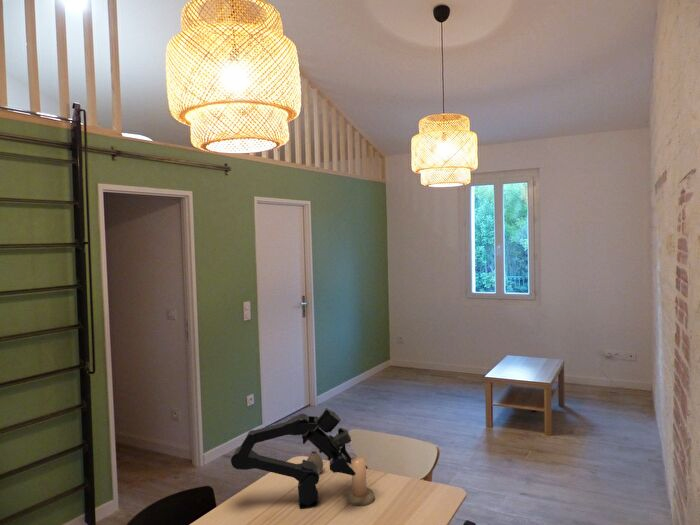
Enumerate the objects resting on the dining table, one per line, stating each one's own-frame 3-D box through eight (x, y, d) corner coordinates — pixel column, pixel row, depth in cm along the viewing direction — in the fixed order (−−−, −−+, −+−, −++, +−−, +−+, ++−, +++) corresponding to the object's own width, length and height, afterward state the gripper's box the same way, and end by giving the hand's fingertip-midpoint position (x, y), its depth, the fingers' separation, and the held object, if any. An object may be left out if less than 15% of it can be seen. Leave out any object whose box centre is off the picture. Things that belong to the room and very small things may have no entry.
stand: (349, 508, 184) (349, 502, 184) (344, 495, 194) (344, 489, 194) (377, 503, 186) (376, 498, 186) (370, 490, 196) (370, 485, 196)
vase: (316, 478, 209) (314, 456, 209) (303, 474, 213) (302, 453, 213) (327, 471, 215) (325, 450, 214) (314, 467, 219) (313, 447, 218)
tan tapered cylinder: (355, 498, 187) (353, 463, 186) (351, 492, 192) (349, 457, 191) (369, 495, 188) (366, 460, 188) (364, 489, 193) (362, 455, 193)
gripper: (337, 434, 179) (371, 463, 180) (336, 416, 198) (367, 442, 199) (315, 458, 179) (349, 487, 180) (316, 437, 198) (347, 464, 199)
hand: (354, 468), depth 190 cm, fingers open, 9 cm apart
